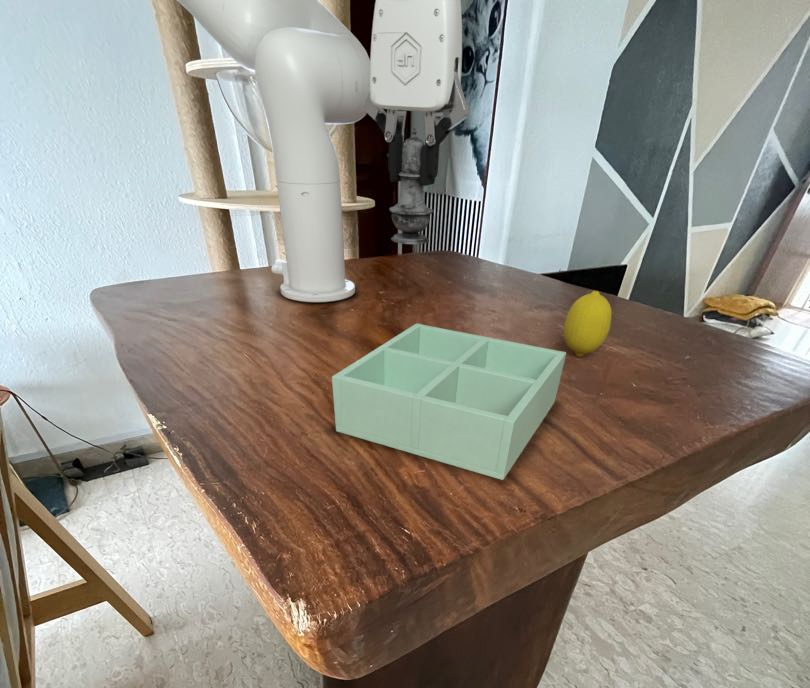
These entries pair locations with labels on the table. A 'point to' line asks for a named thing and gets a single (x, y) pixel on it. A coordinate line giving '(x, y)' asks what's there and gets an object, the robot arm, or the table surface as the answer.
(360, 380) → the box
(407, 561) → the table surface
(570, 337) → the lemon
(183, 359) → the table surface
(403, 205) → the salt shaker
